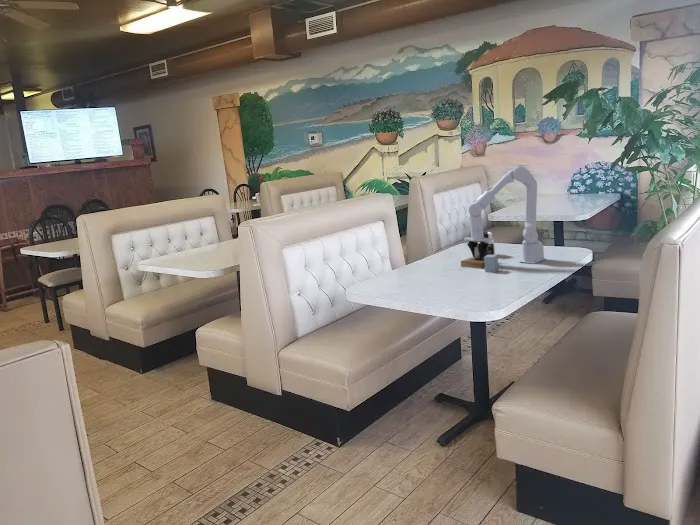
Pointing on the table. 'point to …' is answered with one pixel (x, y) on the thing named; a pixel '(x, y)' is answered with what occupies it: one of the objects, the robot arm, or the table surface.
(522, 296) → the table surface
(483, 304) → the table surface
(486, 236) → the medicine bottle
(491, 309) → the table surface
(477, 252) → the round peg
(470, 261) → the bore block
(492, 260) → the square peg
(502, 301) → the table surface
